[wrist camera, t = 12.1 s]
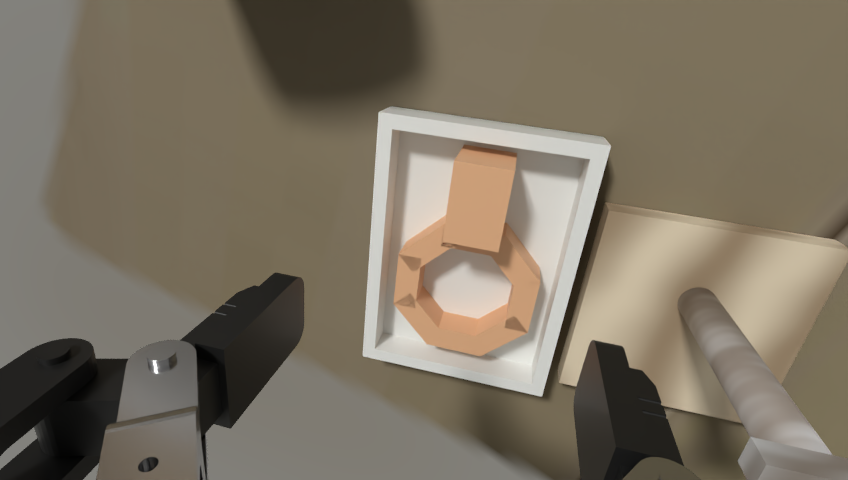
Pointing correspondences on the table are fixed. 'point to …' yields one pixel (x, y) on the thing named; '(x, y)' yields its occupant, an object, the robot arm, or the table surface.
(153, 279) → the table surface
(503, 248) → the terracotta ring
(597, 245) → the stake board
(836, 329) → the table surface
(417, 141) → the white tray
